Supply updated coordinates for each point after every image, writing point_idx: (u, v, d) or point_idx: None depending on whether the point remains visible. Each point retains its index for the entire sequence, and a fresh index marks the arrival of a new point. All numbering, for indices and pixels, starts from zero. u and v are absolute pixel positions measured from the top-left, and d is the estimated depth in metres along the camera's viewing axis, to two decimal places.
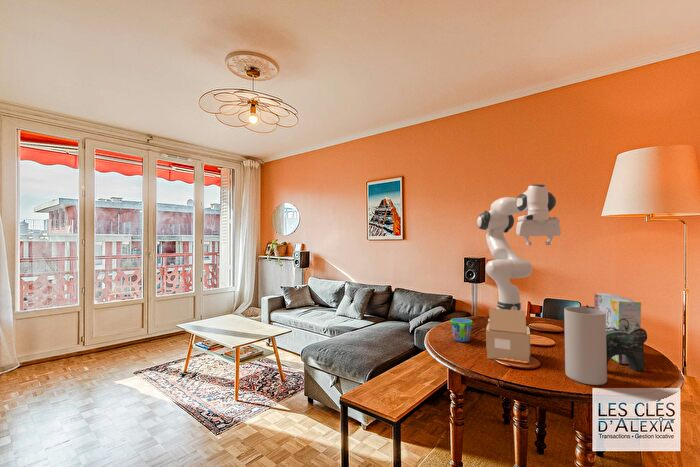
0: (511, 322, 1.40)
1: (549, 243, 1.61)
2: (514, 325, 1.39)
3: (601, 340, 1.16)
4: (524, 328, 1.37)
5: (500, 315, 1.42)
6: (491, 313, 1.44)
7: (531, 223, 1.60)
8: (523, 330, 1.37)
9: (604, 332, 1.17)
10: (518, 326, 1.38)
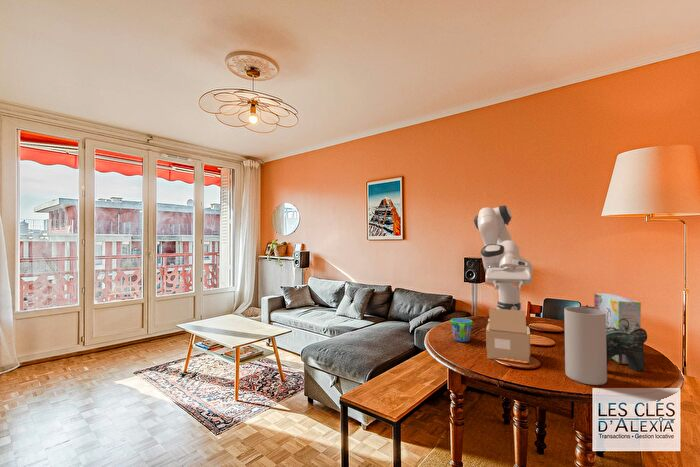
0: (511, 322, 1.40)
1: None
2: (514, 325, 1.39)
3: (601, 340, 1.16)
4: (524, 328, 1.37)
5: (500, 315, 1.42)
6: (491, 313, 1.44)
7: None
8: (523, 330, 1.37)
9: (604, 332, 1.17)
10: (518, 326, 1.38)
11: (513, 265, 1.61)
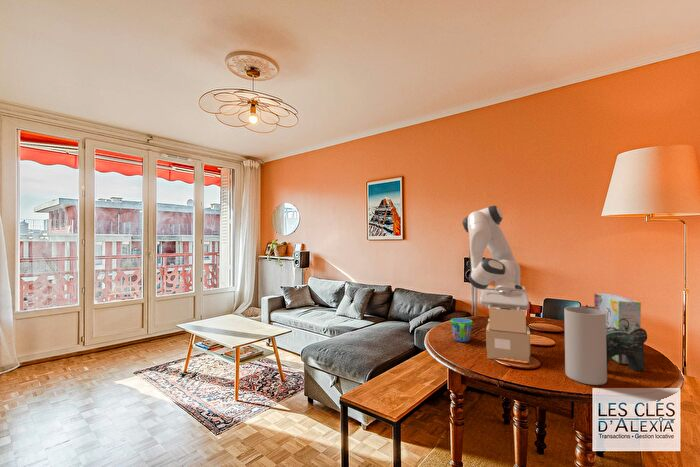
0: (511, 322, 1.40)
1: None
2: (514, 325, 1.39)
3: (601, 340, 1.16)
4: (524, 328, 1.37)
5: (500, 315, 1.42)
6: (491, 313, 1.44)
7: None
8: (523, 330, 1.37)
9: (604, 332, 1.17)
10: (518, 326, 1.38)
11: (510, 289, 1.51)
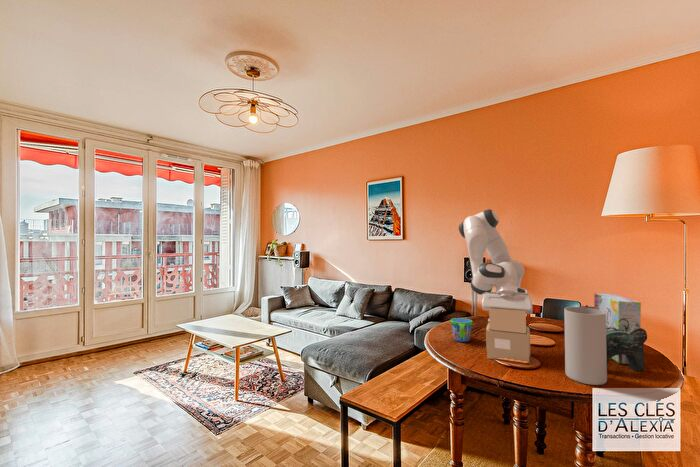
0: (511, 322, 1.39)
1: None
2: (514, 325, 1.39)
3: (601, 340, 1.16)
4: (524, 328, 1.37)
5: (500, 315, 1.42)
6: (491, 313, 1.44)
7: None
8: (523, 330, 1.37)
9: (604, 332, 1.17)
10: (518, 326, 1.38)
11: (512, 292, 1.46)
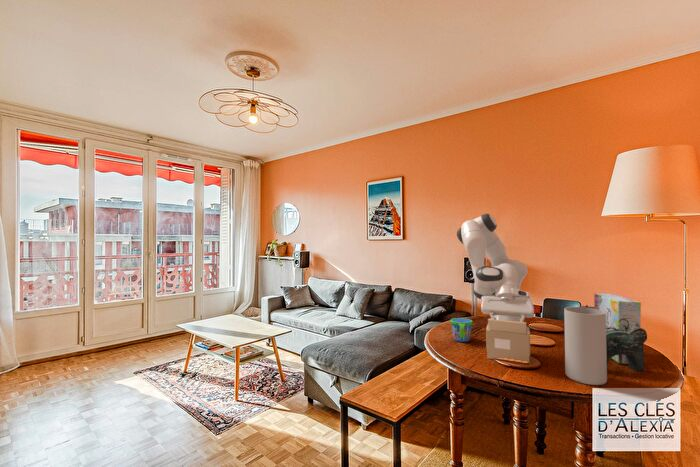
0: (511, 328, 1.36)
1: None
2: (514, 329, 1.37)
3: (601, 340, 1.16)
4: (524, 331, 1.35)
5: (499, 324, 1.37)
6: (490, 322, 1.38)
7: None
8: (523, 332, 1.36)
9: (604, 332, 1.17)
10: (518, 330, 1.36)
11: (513, 295, 1.40)
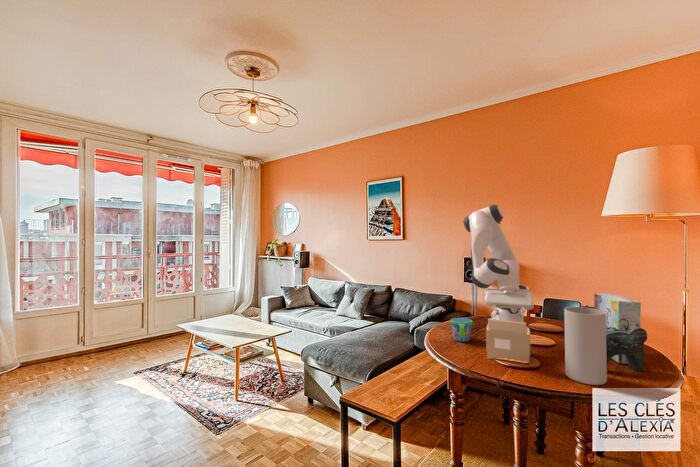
0: (511, 328, 1.36)
1: None
2: (514, 329, 1.37)
3: (601, 340, 1.16)
4: (524, 331, 1.35)
5: (499, 324, 1.37)
6: (490, 322, 1.38)
7: None
8: (523, 332, 1.36)
9: (604, 332, 1.17)
10: (518, 330, 1.36)
11: (514, 289, 1.54)
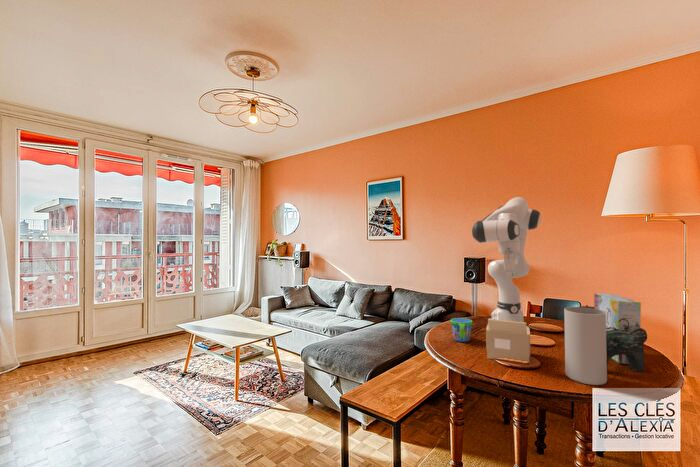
0: (511, 328, 1.36)
1: (507, 277, 1.49)
2: (514, 329, 1.37)
3: (601, 340, 1.16)
4: (524, 331, 1.35)
5: (499, 324, 1.37)
6: (490, 322, 1.38)
7: None
8: (523, 332, 1.36)
9: (604, 332, 1.17)
10: (518, 330, 1.36)
11: None
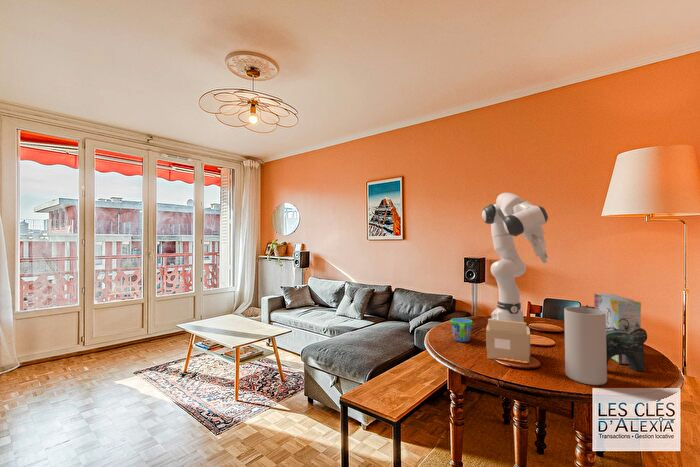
0: (511, 328, 1.36)
1: (542, 261, 1.54)
2: (514, 329, 1.37)
3: (601, 340, 1.16)
4: (524, 331, 1.35)
5: (499, 324, 1.37)
6: (490, 322, 1.38)
7: None
8: (523, 332, 1.36)
9: (604, 332, 1.17)
10: (518, 330, 1.36)
11: None
